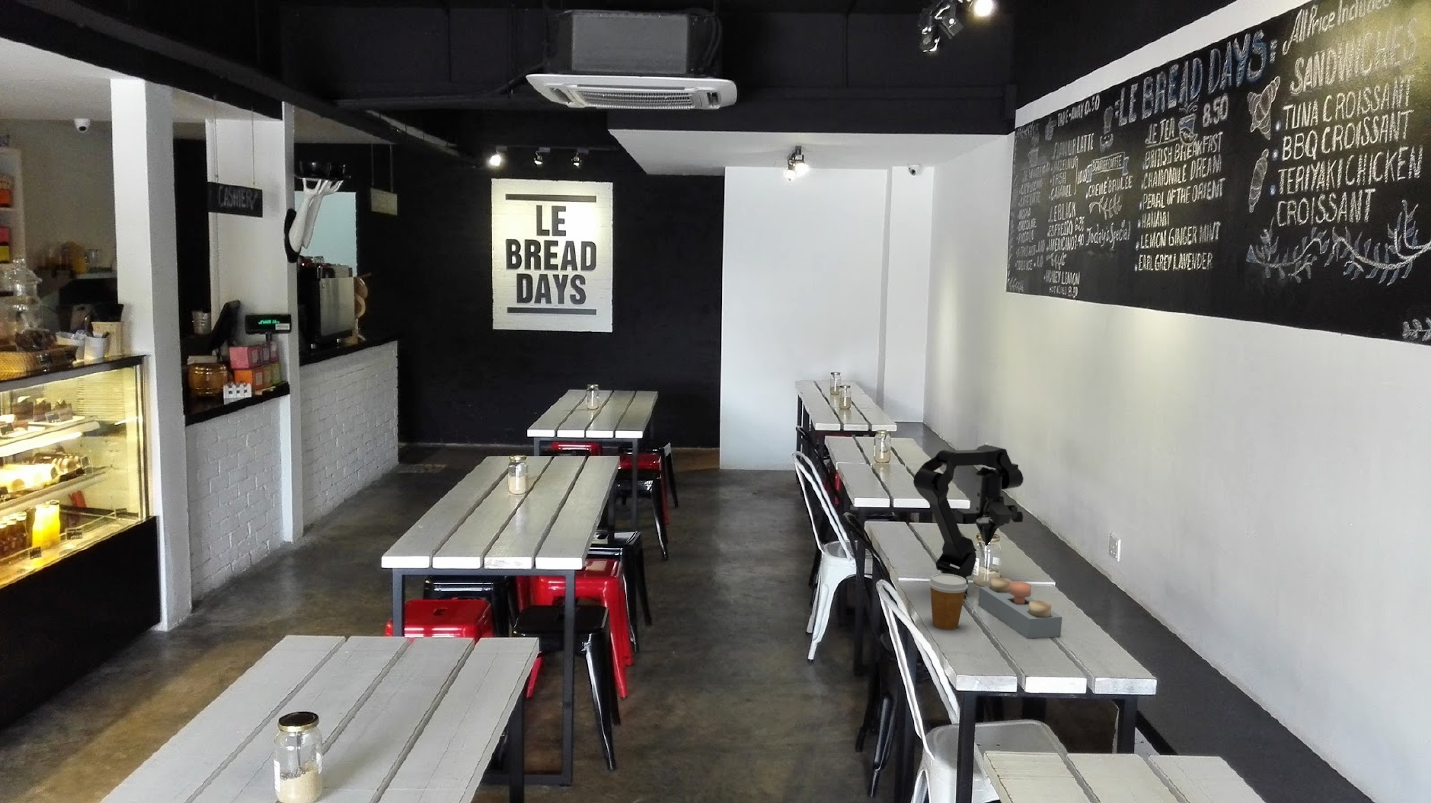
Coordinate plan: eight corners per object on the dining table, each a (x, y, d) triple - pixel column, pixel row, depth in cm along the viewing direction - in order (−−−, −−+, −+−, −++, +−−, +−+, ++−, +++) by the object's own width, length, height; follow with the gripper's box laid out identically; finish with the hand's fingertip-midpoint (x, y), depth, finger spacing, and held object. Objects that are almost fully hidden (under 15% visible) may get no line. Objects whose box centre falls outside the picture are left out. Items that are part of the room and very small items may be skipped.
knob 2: (1034, 637, 248) (1037, 608, 247) (1022, 629, 253) (1025, 601, 252) (1053, 635, 250) (1055, 607, 249) (1041, 628, 255) (1043, 599, 254)
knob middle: (1014, 616, 257) (1017, 588, 256) (1003, 609, 262) (1006, 581, 261) (1032, 615, 258) (1035, 587, 257) (1021, 608, 263) (1024, 580, 262)
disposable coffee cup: (939, 615, 261) (942, 570, 260) (972, 626, 255) (975, 580, 253) (918, 624, 255) (921, 577, 253) (951, 635, 248) (954, 587, 246)
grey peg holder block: (1028, 638, 248) (1029, 619, 247) (978, 604, 271) (979, 586, 270) (1060, 636, 250) (1062, 616, 249) (1008, 603, 273) (1009, 585, 272)
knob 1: (995, 611, 266) (997, 583, 265) (985, 604, 271) (987, 577, 270) (1012, 610, 267) (1015, 582, 266) (1002, 603, 272) (1004, 576, 271)
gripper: (975, 499, 271) (970, 555, 274) (1036, 497, 276) (1031, 552, 279) (954, 489, 282) (950, 543, 284) (1014, 487, 287) (1010, 541, 289)
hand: (986, 545), depth 284 cm, fingers closed
